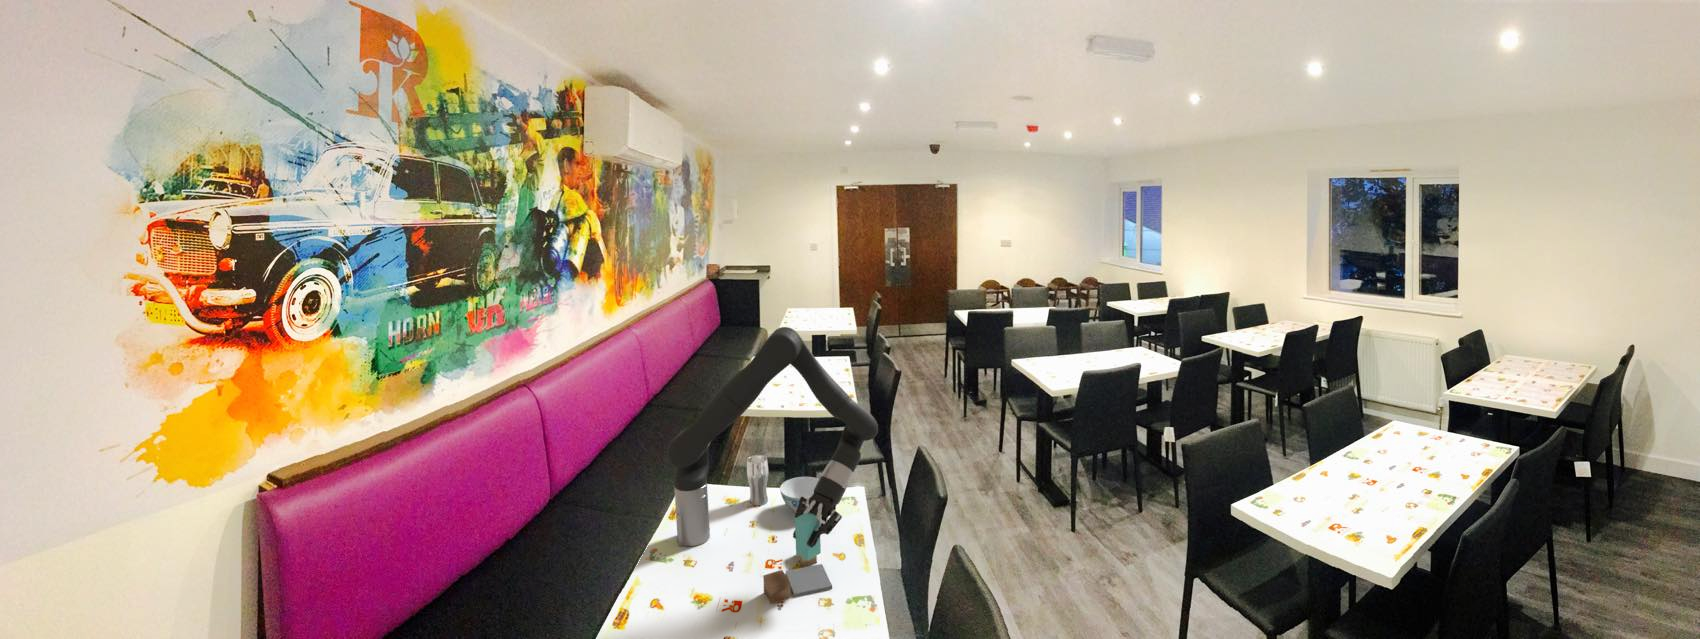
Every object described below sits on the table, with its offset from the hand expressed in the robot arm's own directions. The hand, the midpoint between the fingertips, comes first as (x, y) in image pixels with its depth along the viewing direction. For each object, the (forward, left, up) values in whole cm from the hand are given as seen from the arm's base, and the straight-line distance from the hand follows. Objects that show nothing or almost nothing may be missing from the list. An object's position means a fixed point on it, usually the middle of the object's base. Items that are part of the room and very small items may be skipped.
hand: (802, 542), depth 151 cm
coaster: (+2, +1, -12) cm, 12 cm away
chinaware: (+10, +38, -12) cm, 41 cm away
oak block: (+4, +11, -12) cm, 17 cm away
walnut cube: (-7, -2, -12) cm, 14 cm away
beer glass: (-3, +48, -12) cm, 50 cm away
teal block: (+2, +1, -4) cm, 5 cm away
